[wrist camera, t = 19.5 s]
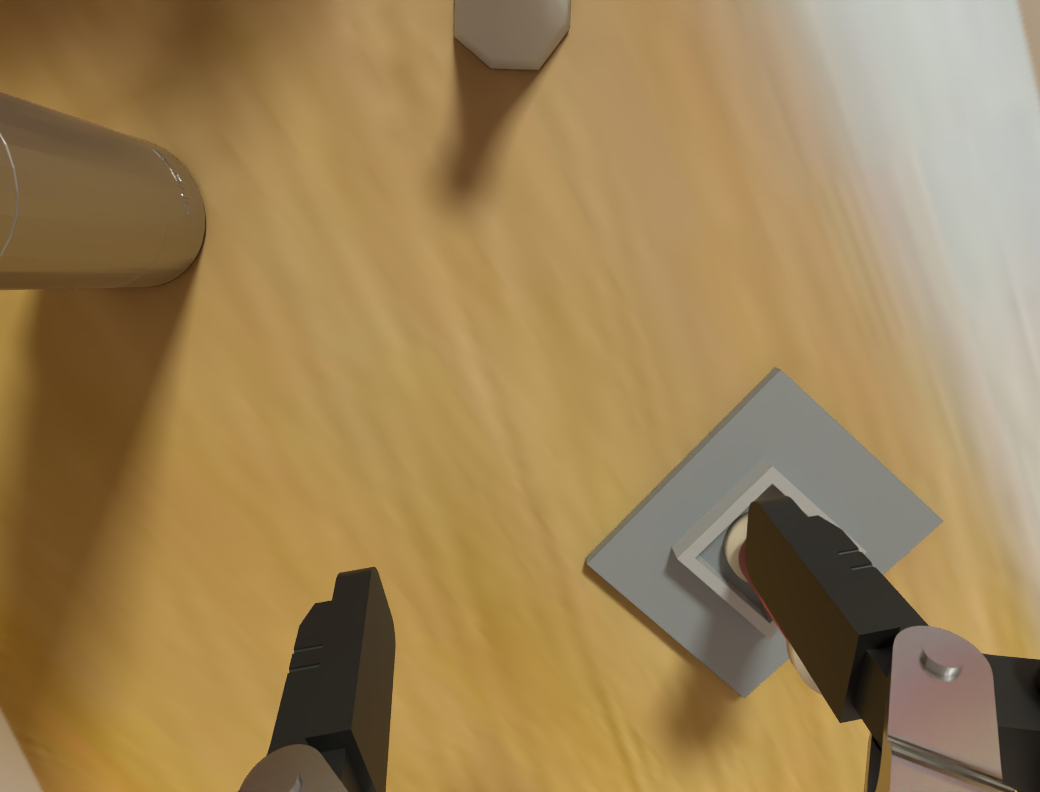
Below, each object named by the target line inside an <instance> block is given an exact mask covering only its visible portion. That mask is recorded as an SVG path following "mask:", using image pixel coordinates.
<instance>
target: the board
mask: <svg viewBox="0 0 1040 792" xmlns="http://www.w3.org/2000/svg"><path fill="white" fill-rule="evenodd" d="M781 496H789V497H790V498H792V499H793V500H794V502H795V503H796V504H797V505H798V506H799V507H800V509H801V510H802V511H803V512H804V513H805V515H806V516H807V517H811V516H816V515H819V516H820V517H822V518H824V519H825V520H827V521H829V522H830V523H832V524H834V525H835V526H837V527H839V528H840V529H842V530H843V531H844V532H845V533H846V535H847V536H848V537H849V538H850V539H851V540H852V541H853V542H854V543H855V545H856V546H857V547H858V548H859V551H860V552H863V553H864V555H865V556H866V557H867V558H868V559H869V560H870V561H871V562H872V565H873V567H876V568H877V569H878V570H879V571H880V572H881V573H882V575H884V574H885V573H886V572H887V571H888V570H889V569H890V568H892V567H893V566H894V565H895V564H896V563H897V562H898V561H899V560H901V559H902V558H903V557H904V556H905V555H906V554H907V553H908V552H910V551H911V550H912V549H913V548H914V547H915V546H916V545H917V544H919V543H920V542H921V541H922V540H923V539H924V538H925V537H926V536H928V535H929V534H930V533H931V532H932V531H933V530H934V529H935V528H937V527H938V526H939V525H940V524H941V523H942V522H943V520H942V519H941V518H940V517H939V516H938V515H937V514H936V513H934V512H933V511H932V510H931V509H930V508H929V507H928V506H927V505H926V504H925V503H924V502H923V501H922V500H920V499H919V498H918V497H917V496H916V495H915V494H914V493H913V492H912V491H911V490H910V489H909V488H908V487H906V486H905V485H904V484H903V483H902V482H901V481H900V480H899V479H898V478H897V477H896V476H895V475H894V474H893V473H891V472H890V471H889V470H888V469H887V468H886V467H885V466H884V465H883V464H882V463H881V462H880V461H879V460H877V459H876V458H875V457H874V456H873V455H872V454H871V453H870V452H869V451H868V450H867V449H866V448H865V447H864V446H862V445H861V444H860V443H859V442H858V441H857V440H856V439H855V438H854V437H853V436H852V435H851V434H850V433H848V432H847V431H846V430H845V429H844V428H843V427H842V426H841V425H840V424H839V423H838V422H837V421H836V420H834V419H833V418H832V417H831V416H830V415H829V414H828V413H827V412H826V411H825V410H824V409H823V408H822V407H821V406H819V405H818V404H817V403H816V402H815V401H814V400H813V399H812V398H811V397H810V396H809V395H808V394H807V393H805V392H804V391H803V390H802V389H801V388H800V387H799V386H798V385H797V384H796V383H795V382H794V381H793V380H792V379H790V378H789V377H788V376H787V375H786V374H785V373H784V372H783V371H782V370H781V369H778V368H774V369H773V370H772V371H771V372H770V373H769V374H768V375H767V376H766V377H765V378H764V379H763V380H762V381H761V382H760V383H759V384H758V385H757V386H756V387H755V388H754V389H753V390H752V391H751V392H750V393H749V394H748V395H747V396H746V397H745V398H744V399H743V400H742V401H741V402H740V403H739V404H738V405H737V406H736V407H735V408H734V409H733V410H732V411H731V412H730V413H729V414H728V415H727V416H726V417H725V418H724V419H723V420H722V421H721V422H720V423H719V424H718V425H717V426H716V427H715V428H714V429H713V430H712V431H711V432H710V433H709V434H708V435H707V436H706V437H705V438H704V439H703V440H702V441H701V442H700V443H699V444H698V445H697V446H696V448H695V449H694V450H693V451H692V452H691V453H690V454H689V455H688V456H687V457H686V458H685V459H684V460H683V461H682V462H681V463H680V464H679V465H678V466H677V467H676V468H675V469H674V470H673V471H672V472H671V473H670V474H669V475H668V476H667V477H666V478H665V479H664V480H663V481H662V482H661V483H660V484H659V485H658V486H657V487H656V488H655V489H654V490H653V491H652V492H651V493H650V494H649V495H648V496H647V497H646V498H645V499H644V500H643V501H642V502H641V503H640V504H639V505H638V506H637V507H636V508H635V509H634V510H633V511H632V512H631V513H630V514H629V515H628V516H627V517H626V518H625V519H624V520H623V521H622V522H621V523H620V524H619V525H618V526H617V527H616V528H615V529H614V530H613V531H612V532H611V533H610V534H609V535H608V536H607V537H606V538H605V539H604V540H603V541H602V542H601V543H600V544H599V545H598V546H597V547H596V548H595V549H594V550H593V551H592V552H591V553H590V554H589V555H588V556H587V557H586V562H587V565H588V566H589V567H591V568H592V569H593V570H594V571H595V572H596V573H598V574H599V575H600V576H601V577H602V578H604V579H605V580H606V581H607V582H608V583H609V584H611V585H612V586H613V587H614V588H615V589H616V590H618V591H619V592H620V593H621V594H622V595H623V596H625V597H626V598H627V599H628V600H629V601H630V602H632V603H633V604H634V605H635V606H636V607H638V608H639V609H640V610H641V611H642V612H643V613H645V614H646V615H647V616H648V617H649V618H650V619H652V620H653V621H654V622H655V623H656V624H657V625H659V626H660V627H661V628H662V629H663V630H664V631H666V632H667V633H668V634H669V635H670V636H671V637H673V638H674V639H675V640H676V641H677V642H679V643H680V644H681V645H682V646H683V647H684V648H686V649H687V650H688V651H689V652H690V653H691V654H693V655H694V656H695V657H696V658H697V659H698V660H700V661H701V662H702V663H703V664H704V665H705V666H707V667H708V668H709V669H710V670H711V671H713V672H714V673H715V674H716V675H717V676H718V677H720V678H721V679H722V680H723V681H724V682H725V683H727V684H728V685H729V686H730V687H731V688H732V689H734V690H735V691H736V692H737V693H738V694H739V695H741V696H742V697H743V698H745V697H746V696H747V695H748V694H750V693H751V692H752V691H753V690H754V689H755V688H756V687H758V686H759V685H760V684H761V683H762V682H763V681H764V680H765V679H767V678H768V677H769V676H770V675H771V674H772V673H773V672H774V671H776V670H777V669H778V668H779V667H780V666H781V665H782V664H783V663H785V662H786V661H787V660H788V659H789V655H788V652H787V646H786V639H785V637H784V635H783V634H782V632H781V631H780V629H779V628H778V626H777V625H776V623H775V622H774V620H773V619H772V617H771V616H770V614H769V613H768V611H767V610H766V608H765V607H764V605H763V604H762V602H761V601H760V599H759V598H758V596H757V595H756V593H755V592H754V590H753V589H752V587H751V586H750V584H749V583H748V582H746V581H744V580H742V579H741V578H740V577H738V576H737V575H736V573H735V572H734V571H733V569H732V568H731V566H730V565H729V563H728V562H727V560H726V558H725V555H724V550H723V541H724V537H725V534H726V531H727V529H728V528H729V526H730V525H731V523H732V522H733V521H734V520H735V519H736V518H738V517H739V516H741V515H742V514H744V513H746V512H748V510H749V505H750V503H751V502H753V501H758V500H764V499H769V498H775V497H781Z"/></svg>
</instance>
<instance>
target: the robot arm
mask: <svg viewBox="0 0 1040 792" xmlns="http://www.w3.org/2000/svg"><path fill="white" fill-rule="evenodd" d="M204 232H205V212H204V206H203V201H202V197H201V195H200V192H199V190H198V187H197V185H196V183H195V181H194V180H193V178H192V177H191V175H190V173H189V172H188V170H187V169H186V168H185V167H184V166H183V165H182V164H181V163H180V162H179V161H178V159H177V158H175V157H174V156H173V155H171V154H170V153H168V152H167V151H166V150H164V149H163V148H161V147H158V146H156V145H154V144H152V143H150V142H147V141H144V140H141V139H138V138H135V137H132V136H129V135H126V134H123V133H120V132H117V131H114V130H111V129H109V128H106V127H103V126H100V125H97V124H94V123H91V122H88V121H85V120H82V119H79V118H76V117H73V116H70V115H67V114H64V113H61V112H58V111H55V110H52V109H49V108H46V107H43V106H41V105H38V104H35V103H32V102H29V101H26V100H23V99H20V98H17V97H14V96H11V95H8V94H5V93H2V92H0V290H31V289H73V288H123V287H151V286H156V285H161V284H164V283H167V282H169V281H171V280H173V279H175V278H177V277H178V276H179V275H180V274H182V273H183V272H184V271H186V270H187V269H188V267H189V266H190V265H191V263H192V262H193V261H194V260H195V258H196V256H197V254H198V252H199V250H200V248H201V245H202V241H203V237H204ZM745 561H746V567H747V571H748V574H749V577H750V579H751V581H752V583H753V585H754V587H755V588H756V590H757V591H758V593H759V595H760V596H761V598H762V599H763V601H764V603H765V604H766V606H767V607H768V609H769V611H770V612H771V614H772V615H773V617H774V619H775V620H776V622H777V623H778V625H779V627H780V628H781V630H782V631H783V633H784V634H785V636H786V638H787V639H788V641H789V642H790V644H791V646H792V647H793V649H794V650H795V652H796V654H797V655H798V657H799V658H800V660H801V662H802V663H803V665H804V666H805V668H806V670H807V671H808V673H809V674H810V676H811V678H812V679H813V681H814V682H815V684H816V685H817V687H818V689H819V690H820V692H821V693H822V695H823V697H824V698H825V700H826V701H827V703H828V705H829V706H830V708H831V709H832V711H833V713H834V714H835V716H836V717H837V719H838V721H839V722H840V723H842V722H848V721H853V720H858V719H862V720H863V722H864V723H865V725H866V726H867V728H868V729H869V731H870V736H869V741H868V750H867V761H866V772H865V783H864V792H1015V790H1017V792H1040V660H1037V659H1027V658H1017V657H1006V656H996V655H988V654H983V653H981V652H980V651H979V650H978V649H977V648H976V647H975V646H974V645H972V644H971V643H970V642H968V641H967V640H965V639H964V638H962V637H960V636H958V635H956V634H954V633H952V632H949V631H947V630H944V629H940V628H936V627H931V626H929V625H928V624H927V623H926V622H925V621H924V620H923V619H922V618H921V617H920V616H919V615H918V613H917V612H916V611H915V610H914V609H913V608H912V607H911V606H910V605H909V603H908V602H907V601H906V600H905V599H904V598H903V597H902V596H901V595H900V593H899V592H898V591H897V590H896V589H895V588H894V587H893V586H892V585H891V583H890V582H889V581H888V580H887V579H886V578H885V577H884V576H883V575H882V573H881V572H880V571H879V570H878V569H877V568H876V567H873V565H872V562H871V561H870V560H869V559H868V558H867V557H866V556H865V555H864V553H863V552H860V551H859V548H858V547H857V546H856V545H855V543H854V542H853V541H852V540H851V539H850V538H849V537H848V536H847V535H846V533H845V532H844V531H843V530H842V529H840V528H839V527H837V526H835V525H834V524H832V523H830V522H829V521H827V520H825V519H824V518H822V517H820V516H819V515H816V516H811V517H807V516H806V515H805V513H804V512H803V511H802V510H801V509H800V507H799V506H798V505H797V504H796V503H795V502H794V500H793V499H792V498H790V497H789V496H781V497H775V498H769V499H764V500H758V501H753V502H751V503H750V505H749V510H748V522H747V535H746V548H745ZM394 660H395V631H394V624H393V619H392V615H391V612H390V609H389V606H388V602H387V599H386V596H385V593H384V589H383V586H382V583H381V580H380V576H379V573H378V571H377V569H376V568H375V567H370V568H365V569H359V570H353V571H348V572H342V573H339V574H338V575H337V578H336V583H335V588H334V593H333V598H332V601H326V602H321V603H315V604H314V606H313V607H312V608H311V610H310V611H309V613H308V614H307V616H306V617H305V619H304V620H303V621H302V623H301V624H300V626H299V630H298V634H297V638H296V642H295V646H294V654H292V658H291V662H290V667H289V673H288V675H287V679H286V683H285V687H284V691H283V695H282V699H281V703H280V707H279V711H278V715H277V719H276V723H275V727H274V731H273V736H272V740H271V744H270V747H269V750H268V753H267V755H266V757H264V758H263V759H262V760H261V761H260V762H259V763H257V764H256V766H255V767H254V768H253V769H252V770H251V771H250V772H249V774H248V775H247V777H246V778H245V780H244V782H243V783H242V785H241V787H240V790H239V791H238V792H385V791H386V776H387V762H388V747H389V733H390V718H391V704H392V689H393V675H394Z"/></svg>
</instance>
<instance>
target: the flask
mask: <svg viewBox="0 0 1040 792" xmlns="http://www.w3.org/2000/svg"><path fill="white" fill-rule="evenodd" d="M570 12H571V0H454V37H455V38H456V39H457V40H459V41H460V42H461V43H462V44H463V45H464V46H466V47H467V48H468V49H469V50H470V51H471V52H473V53H474V54H475V55H476V56H477V57H478V58H480V59H481V60H482V61H483V62H484V63H485V64H487V65H488V66H489V67H490V68H491V69H526V70H539V69H540V68H541V66H542V65H543V64H544V62H545V61H546V60H547V58H548V57H549V56H550V54H551V53H552V52H553V50H554V49H555V48H556V46H557V45H558V44H559V42H560V41H561V40H562V38H563V37H564V36H565V34H566V33H567V32H568V30H569V29H570Z"/></svg>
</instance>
